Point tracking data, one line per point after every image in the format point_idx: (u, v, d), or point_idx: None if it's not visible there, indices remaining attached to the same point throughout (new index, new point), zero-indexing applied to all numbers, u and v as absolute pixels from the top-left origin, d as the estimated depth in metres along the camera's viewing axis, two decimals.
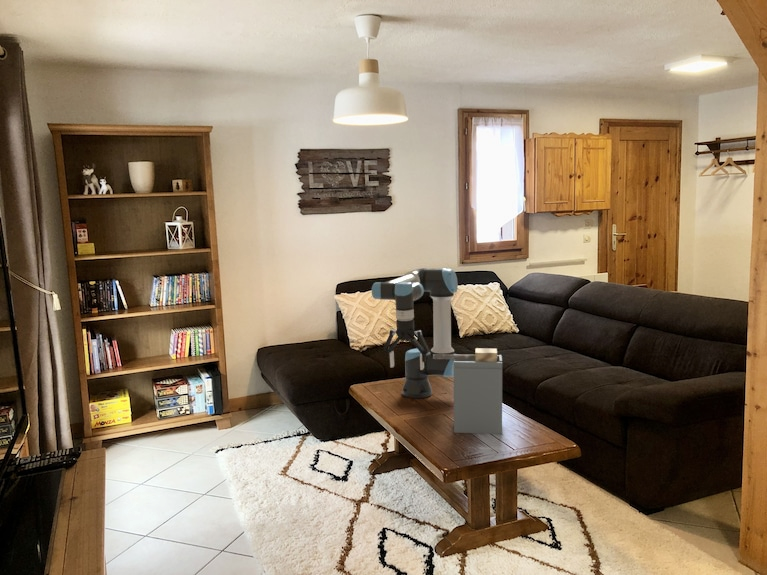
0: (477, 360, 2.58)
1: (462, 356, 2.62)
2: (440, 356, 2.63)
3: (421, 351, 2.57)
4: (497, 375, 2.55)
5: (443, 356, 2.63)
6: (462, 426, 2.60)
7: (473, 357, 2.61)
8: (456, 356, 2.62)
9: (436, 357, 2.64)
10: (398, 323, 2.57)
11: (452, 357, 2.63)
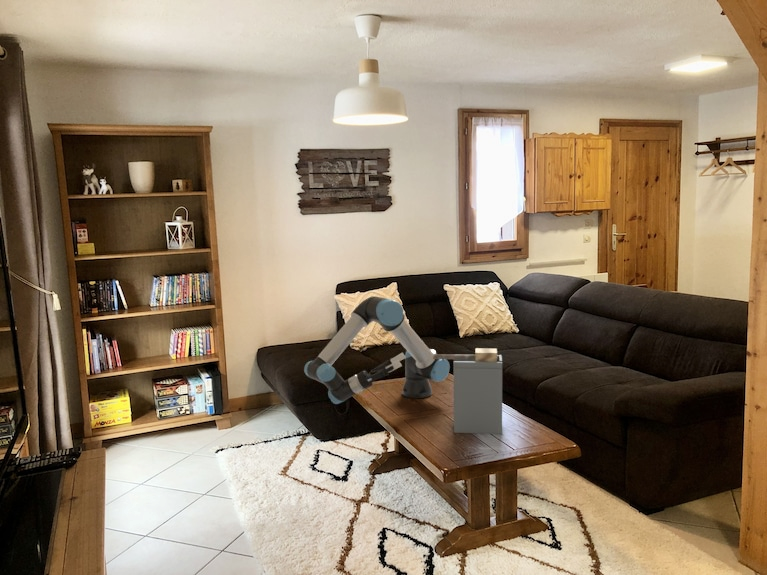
0: (477, 360, 2.58)
1: (462, 356, 2.62)
2: (440, 356, 2.63)
3: None
4: (497, 375, 2.55)
5: (443, 356, 2.63)
6: (462, 426, 2.60)
7: (473, 357, 2.61)
8: (456, 356, 2.62)
9: (436, 357, 2.64)
10: None
11: (452, 357, 2.63)
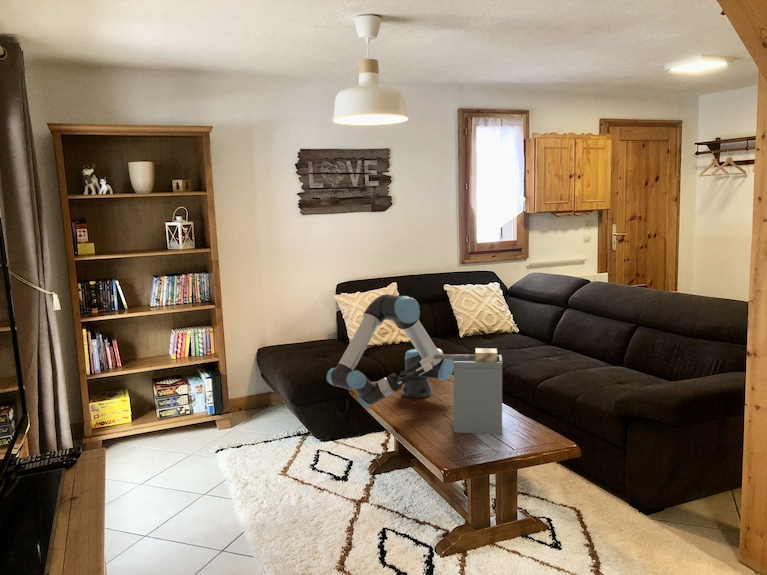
0: (477, 360, 2.58)
1: (462, 356, 2.62)
2: (440, 356, 2.63)
3: None
4: (497, 375, 2.55)
5: (443, 356, 2.63)
6: (462, 426, 2.60)
7: (473, 357, 2.61)
8: (456, 356, 2.62)
9: (436, 357, 2.64)
10: None
11: (452, 357, 2.63)
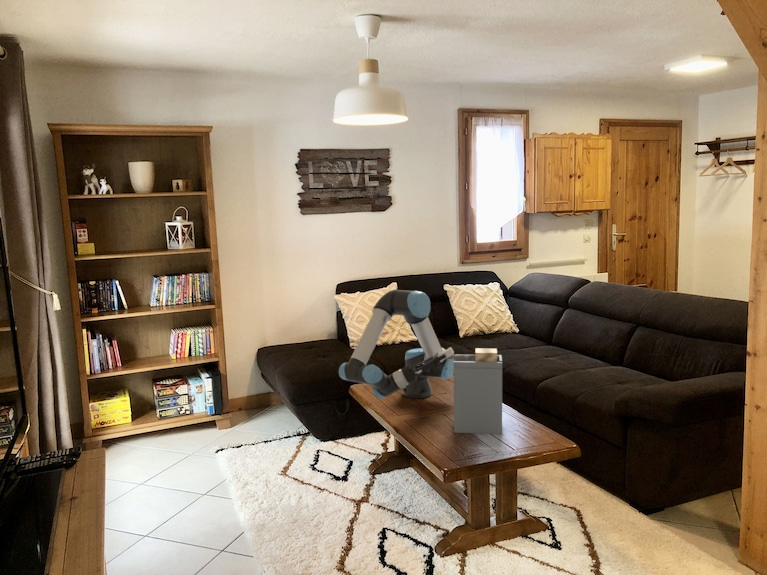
0: (477, 360, 2.58)
1: (462, 356, 2.62)
2: None
3: None
4: (497, 375, 2.55)
5: None
6: (462, 426, 2.60)
7: (473, 357, 2.61)
8: (456, 356, 2.62)
9: None
10: None
11: (452, 357, 2.63)
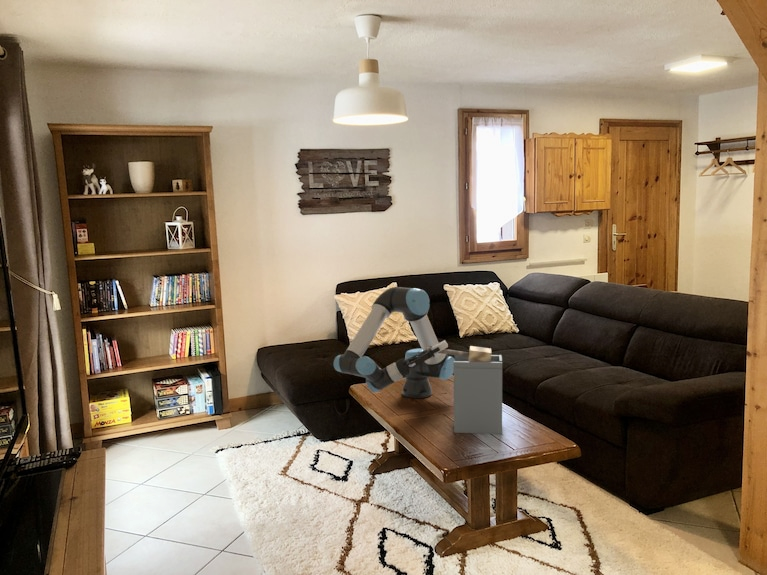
0: (470, 358, 2.58)
1: (456, 352, 2.62)
2: None
3: None
4: (497, 375, 2.55)
5: None
6: (462, 426, 2.60)
7: (467, 354, 2.62)
8: (450, 351, 2.63)
9: None
10: None
11: (446, 352, 2.63)
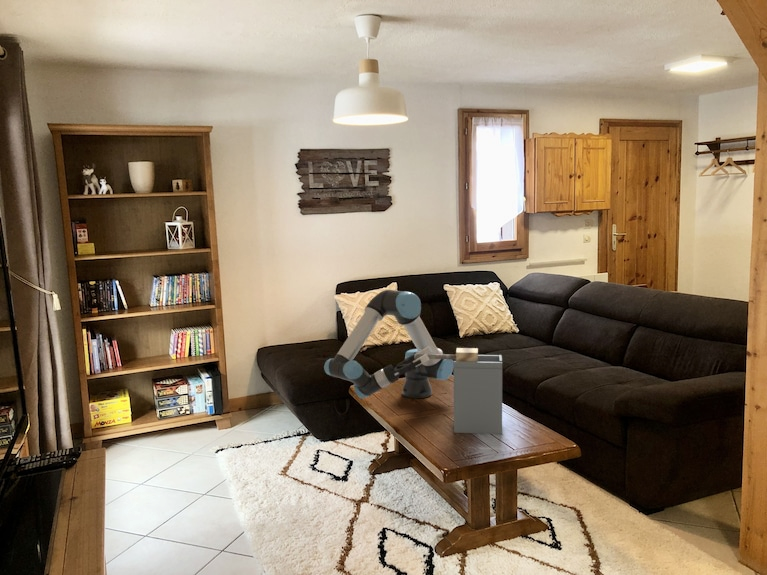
0: (458, 360, 2.59)
1: (443, 356, 2.63)
2: None
3: None
4: (497, 375, 2.55)
5: None
6: (462, 426, 2.60)
7: (454, 357, 2.63)
8: (437, 356, 2.64)
9: (417, 357, 2.65)
10: None
11: (433, 357, 2.64)
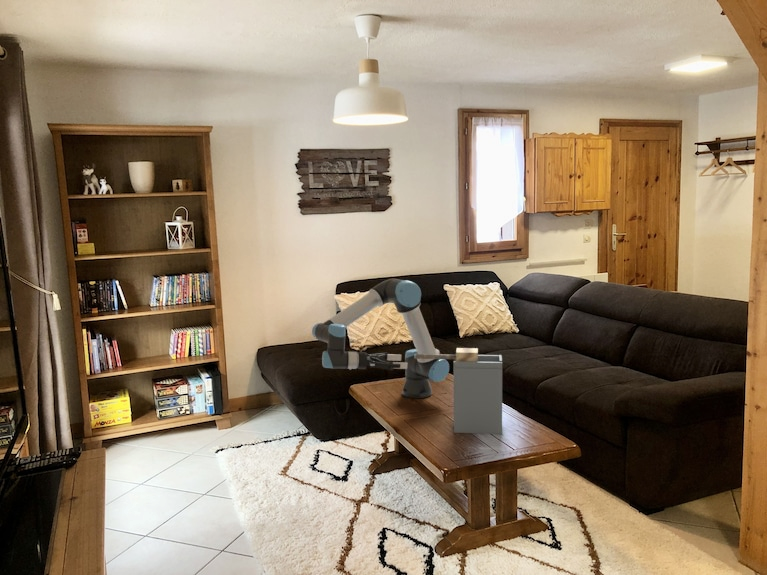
0: (458, 360, 2.59)
1: (443, 356, 2.63)
2: (421, 356, 2.65)
3: None
4: (497, 375, 2.55)
5: (424, 356, 2.65)
6: (462, 426, 2.60)
7: (454, 357, 2.63)
8: (437, 356, 2.64)
9: (417, 357, 2.65)
10: None
11: (433, 357, 2.64)
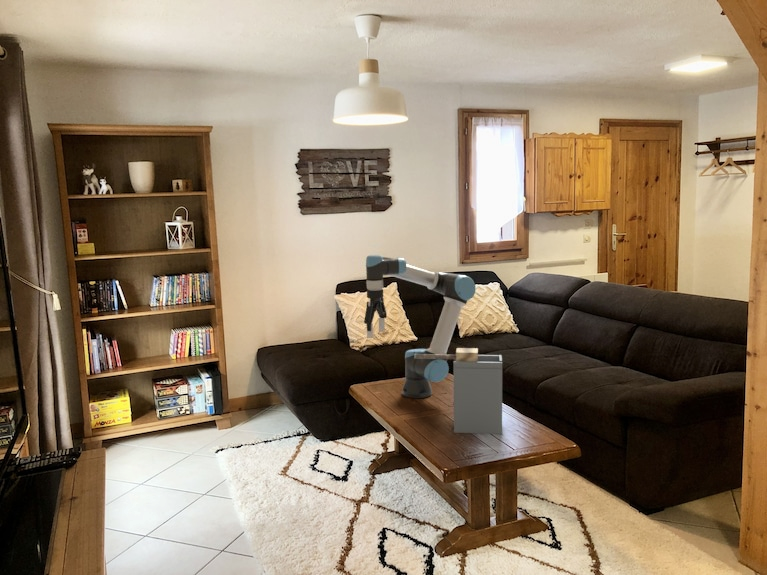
0: (458, 360, 2.59)
1: (443, 356, 2.63)
2: (421, 356, 2.65)
3: None
4: (497, 375, 2.55)
5: (424, 356, 2.65)
6: (462, 426, 2.60)
7: (454, 357, 2.63)
8: (437, 356, 2.64)
9: (417, 357, 2.65)
10: None
11: (433, 357, 2.64)
